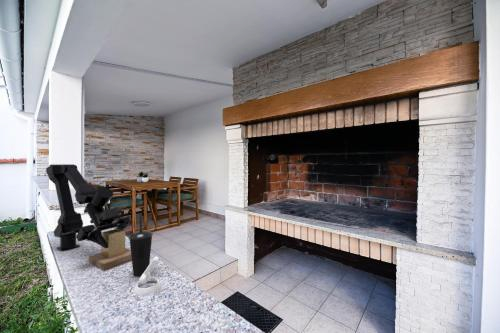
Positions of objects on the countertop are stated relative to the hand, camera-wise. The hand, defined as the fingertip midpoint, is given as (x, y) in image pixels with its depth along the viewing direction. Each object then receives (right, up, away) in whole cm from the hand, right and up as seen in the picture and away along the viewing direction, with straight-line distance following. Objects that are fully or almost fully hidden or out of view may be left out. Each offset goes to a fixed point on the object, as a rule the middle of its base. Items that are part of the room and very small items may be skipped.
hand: (115, 244), depth 85 cm
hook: (+21, -7, -18) cm, 29 cm away
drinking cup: (+15, -7, -9) cm, 19 cm away
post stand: (-1, -7, +1) cm, 7 cm away
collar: (-1, -4, +1) cm, 4 cm away
